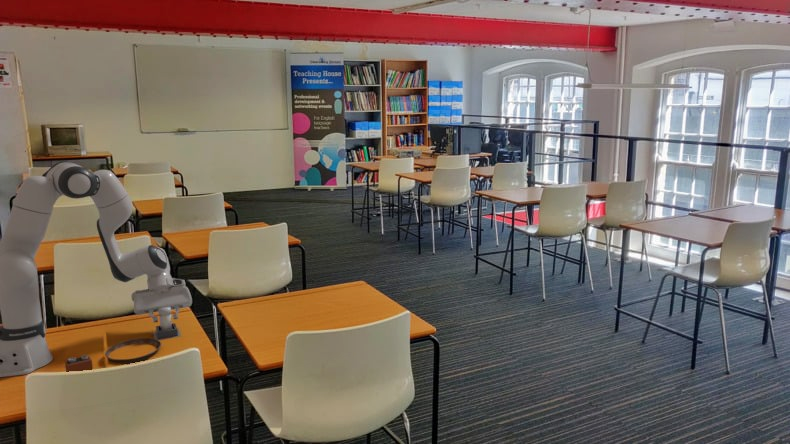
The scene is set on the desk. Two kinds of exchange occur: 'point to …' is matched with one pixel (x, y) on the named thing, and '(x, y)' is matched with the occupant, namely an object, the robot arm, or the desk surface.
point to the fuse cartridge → (165, 318)
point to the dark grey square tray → (166, 333)
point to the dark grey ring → (130, 342)
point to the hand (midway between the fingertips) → (165, 320)
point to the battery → (79, 364)
